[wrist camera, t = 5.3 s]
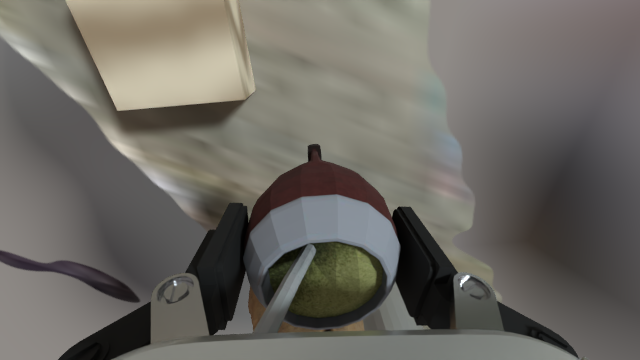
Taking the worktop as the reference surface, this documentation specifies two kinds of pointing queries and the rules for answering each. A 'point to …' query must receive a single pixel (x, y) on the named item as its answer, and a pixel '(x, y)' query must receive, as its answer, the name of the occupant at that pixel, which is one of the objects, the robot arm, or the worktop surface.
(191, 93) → the maple block
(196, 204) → the worktop surface
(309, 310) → the mate gourd
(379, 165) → the worktop surface
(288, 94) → the worktop surface
